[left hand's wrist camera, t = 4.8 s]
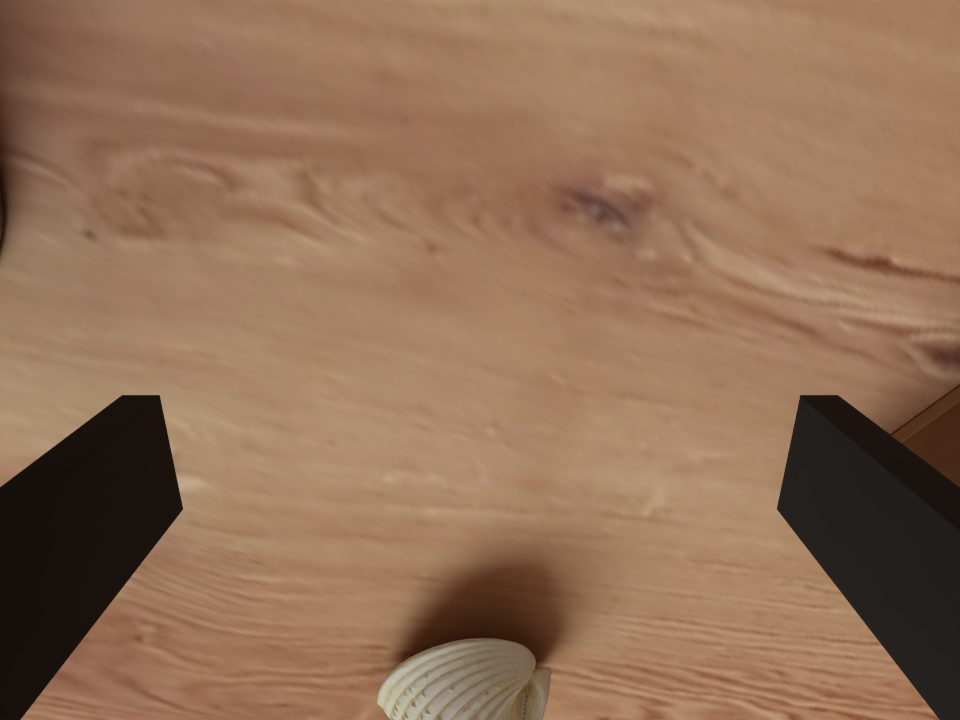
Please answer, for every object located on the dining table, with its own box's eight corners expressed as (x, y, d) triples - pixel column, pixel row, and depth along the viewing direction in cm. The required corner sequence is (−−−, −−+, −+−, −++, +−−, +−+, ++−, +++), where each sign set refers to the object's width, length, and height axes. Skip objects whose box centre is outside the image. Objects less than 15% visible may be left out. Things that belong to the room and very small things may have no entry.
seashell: (594, 714, 33) (494, 844, 31) (495, 614, 39) (405, 717, 37) (550, 666, 28) (425, 819, 26) (443, 559, 34) (334, 675, 32)
